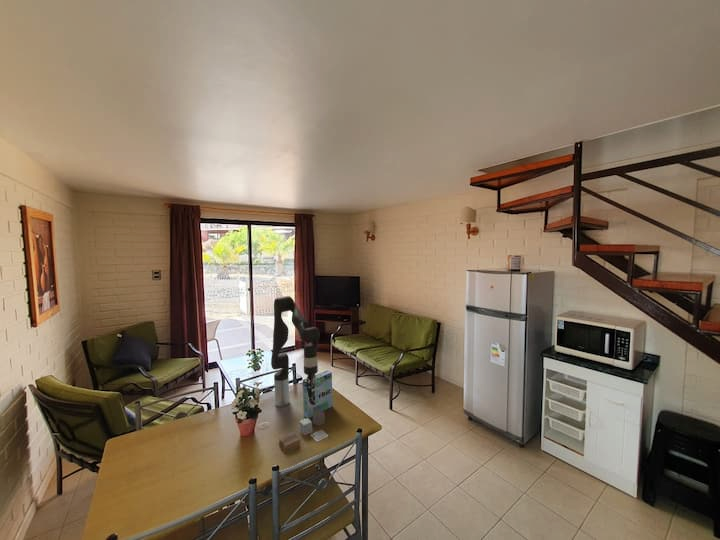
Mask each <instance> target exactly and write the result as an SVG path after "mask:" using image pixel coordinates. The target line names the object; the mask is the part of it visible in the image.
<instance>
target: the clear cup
mask: <svg viewBox="0 0 720 540" xmlns="http://www.w3.org/2000/svg"><path fill="white" fill-rule="evenodd" d="M299 432H300V433H301V435H303V437H304V436H307V435H310V434H312V433H313V421H311V419H310V418H306V417H305V418H304V419H301V420H299Z"/></svg>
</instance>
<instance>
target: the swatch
mask: <svg viewBox="0 0 720 540" xmlns="http://www.w3.org/2000/svg"><path fill="white" fill-rule="evenodd" d="M310 437H311V438H313V440H314V441H315V442H317V443H318V442H321V440H324V439H327V438H328V437H329V435H328V434H327V433H326V432H325V430H323V429H320V430H318V431H316V432H314V433H313V432H312V433H310Z"/></svg>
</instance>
